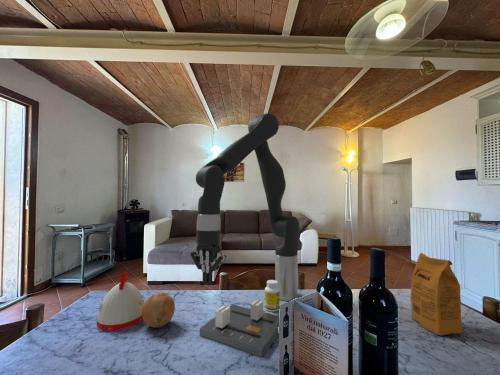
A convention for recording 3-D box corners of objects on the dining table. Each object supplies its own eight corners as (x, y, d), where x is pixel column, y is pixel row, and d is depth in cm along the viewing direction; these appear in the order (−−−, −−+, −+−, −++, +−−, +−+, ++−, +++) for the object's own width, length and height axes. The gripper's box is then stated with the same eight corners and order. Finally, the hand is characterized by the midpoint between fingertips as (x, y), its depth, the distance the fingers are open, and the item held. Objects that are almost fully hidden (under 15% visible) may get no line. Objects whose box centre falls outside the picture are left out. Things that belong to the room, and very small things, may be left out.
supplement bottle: (278, 313, 82) (278, 284, 82) (263, 311, 83) (263, 283, 83) (280, 306, 87) (280, 279, 87) (265, 304, 88) (265, 278, 89)
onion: (169, 314, 80) (170, 285, 80) (178, 327, 72) (179, 294, 72) (138, 323, 74) (139, 291, 75) (145, 338, 66) (146, 302, 67)
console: (232, 310, 83) (232, 304, 83) (285, 324, 74) (285, 317, 74) (199, 335, 68) (199, 327, 68) (261, 357, 58) (261, 348, 58)
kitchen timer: (146, 307, 85) (148, 266, 86) (141, 326, 72) (143, 277, 73) (103, 312, 81) (105, 269, 82) (90, 333, 68) (92, 281, 69)
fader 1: (223, 320, 72) (223, 305, 72) (229, 322, 70) (230, 306, 71) (215, 326, 68) (215, 310, 68) (222, 328, 67) (222, 312, 67)
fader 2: (256, 313, 76) (256, 299, 77) (263, 314, 75) (263, 300, 75) (250, 318, 73) (250, 303, 73) (257, 320, 72) (257, 305, 72)
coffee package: (433, 316, 80) (431, 251, 81) (469, 337, 67) (465, 260, 69) (405, 316, 80) (403, 251, 81) (435, 337, 67) (432, 260, 69)
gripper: (232, 228, 74) (231, 284, 73) (200, 226, 80) (198, 277, 79) (218, 231, 67) (217, 292, 66) (184, 228, 74) (182, 283, 72)
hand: (207, 283), depth 73 cm, fingers closed
